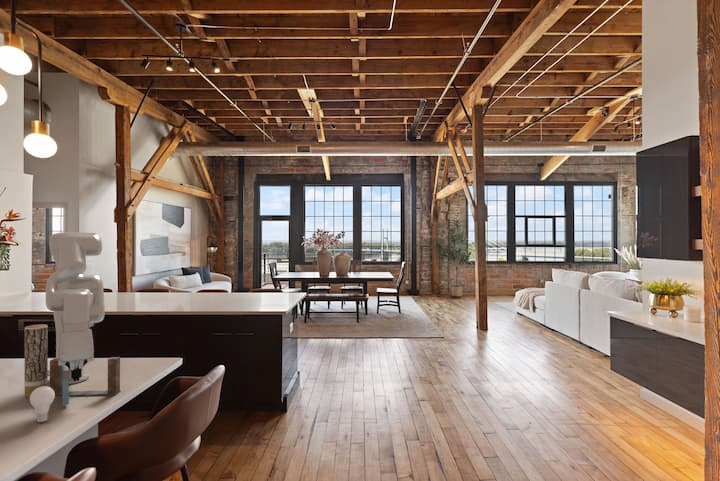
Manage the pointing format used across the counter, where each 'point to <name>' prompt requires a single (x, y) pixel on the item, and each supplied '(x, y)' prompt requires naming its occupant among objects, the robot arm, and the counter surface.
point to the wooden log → (36, 357)
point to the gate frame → (112, 390)
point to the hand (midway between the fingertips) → (76, 380)
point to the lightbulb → (42, 401)
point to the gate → (65, 385)
